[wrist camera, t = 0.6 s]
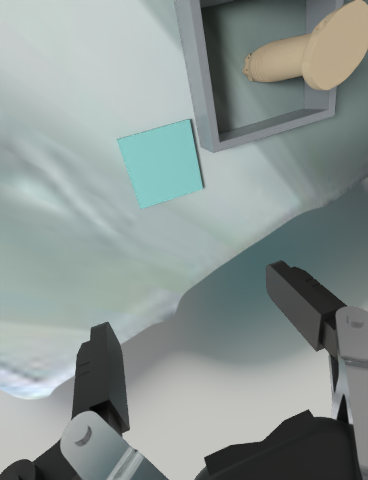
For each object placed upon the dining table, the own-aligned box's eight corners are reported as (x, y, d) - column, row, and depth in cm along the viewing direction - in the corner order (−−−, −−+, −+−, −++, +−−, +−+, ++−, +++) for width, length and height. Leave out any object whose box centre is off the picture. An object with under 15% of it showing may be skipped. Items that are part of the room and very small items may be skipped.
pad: (116, 139, 34) (117, 140, 33) (188, 119, 35) (189, 119, 35) (140, 207, 39) (140, 209, 38) (201, 187, 40) (203, 188, 40)
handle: (224, 74, 34) (299, 59, 21) (257, 28, 32) (358, -18, 20) (247, 101, 36) (327, 101, 24) (279, 59, 35) (382, 35, 22)
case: (172, -10, 29) (266, -151, 12) (320, -42, 31) (559, -194, 15) (200, 146, 37) (277, 182, 21) (314, 112, 40) (460, 120, 24)
